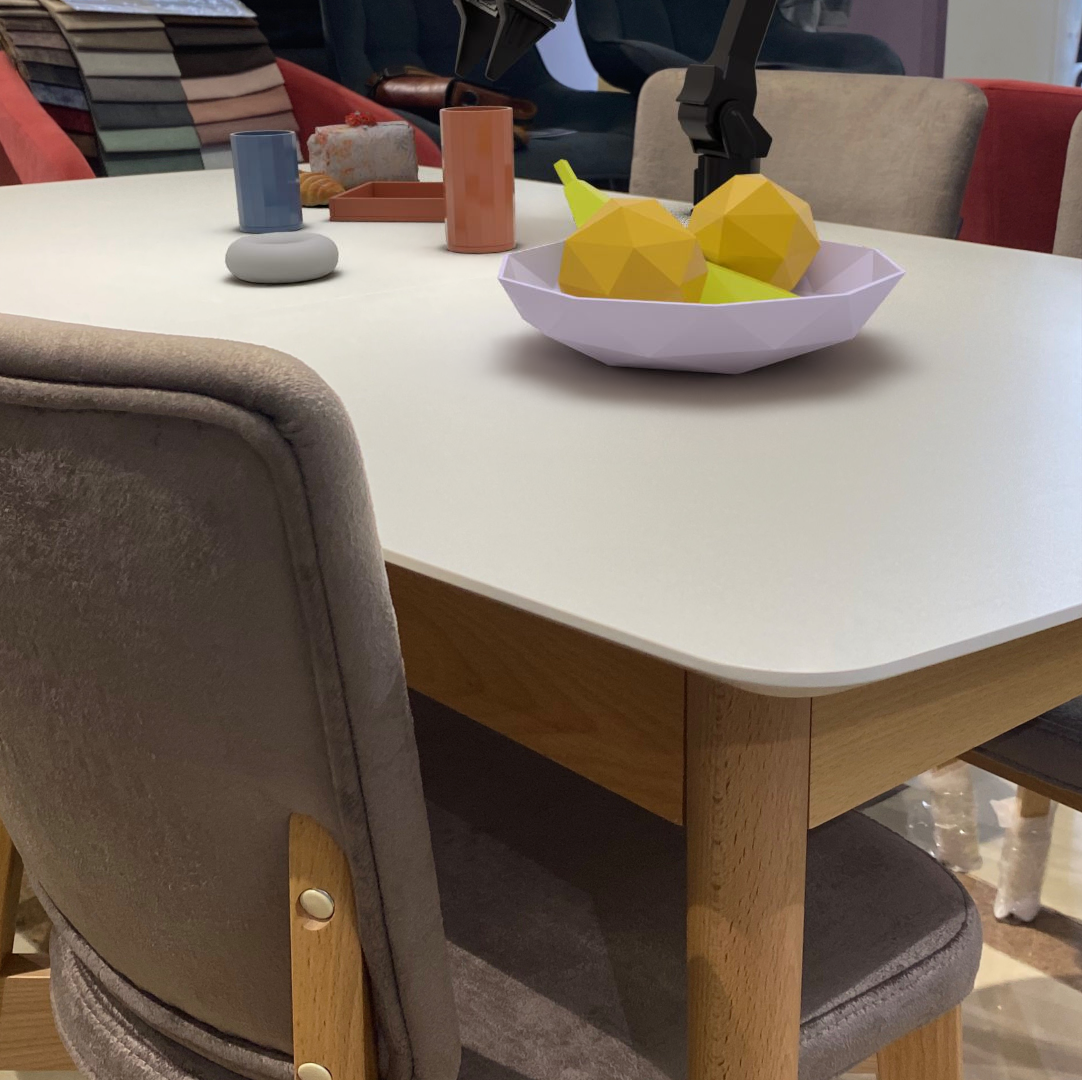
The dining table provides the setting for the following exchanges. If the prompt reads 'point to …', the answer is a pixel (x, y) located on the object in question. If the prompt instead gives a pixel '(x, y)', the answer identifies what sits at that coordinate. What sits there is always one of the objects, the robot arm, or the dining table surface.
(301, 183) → the pastry
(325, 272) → the donut
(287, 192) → the slate cup
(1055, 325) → the dining table surface
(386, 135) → the food item
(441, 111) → the terracotta cup
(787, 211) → the fruit bowl
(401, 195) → the tray
